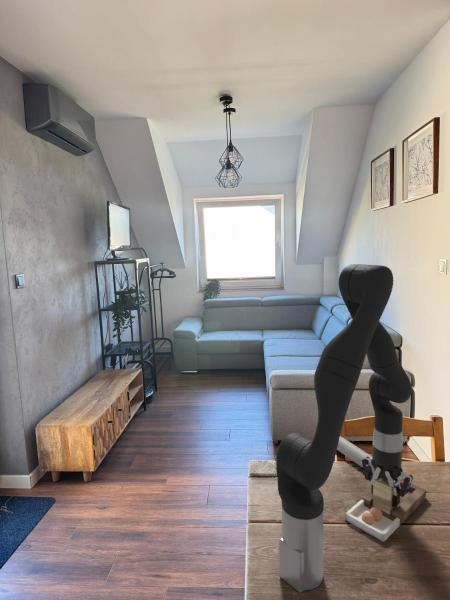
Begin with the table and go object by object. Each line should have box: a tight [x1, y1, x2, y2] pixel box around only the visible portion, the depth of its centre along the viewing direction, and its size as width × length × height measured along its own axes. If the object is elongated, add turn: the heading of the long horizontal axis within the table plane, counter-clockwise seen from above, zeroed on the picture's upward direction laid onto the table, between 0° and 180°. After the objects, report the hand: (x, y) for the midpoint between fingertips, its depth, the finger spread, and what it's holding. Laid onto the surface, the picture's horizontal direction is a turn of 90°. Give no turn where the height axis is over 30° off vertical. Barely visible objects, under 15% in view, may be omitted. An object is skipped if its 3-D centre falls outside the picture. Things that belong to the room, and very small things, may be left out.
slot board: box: [361, 478, 427, 526], centre depth 115 cm, size 16×11×2 cm
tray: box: [344, 499, 401, 543], centre depth 107 cm, size 8×11×2 cm
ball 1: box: [362, 512, 375, 526], centre depth 106 cm, size 3×3×3 cm
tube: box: [337, 435, 375, 475], centre depth 136 cm, size 5×5×25 cm
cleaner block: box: [373, 477, 398, 515], centre depth 111 cm, size 4×5×8 cm
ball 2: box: [370, 507, 382, 520], centre depth 108 cm, size 3×3×3 cm
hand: (385, 500), depth 112 cm, fingers closed on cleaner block, 5 cm apart
